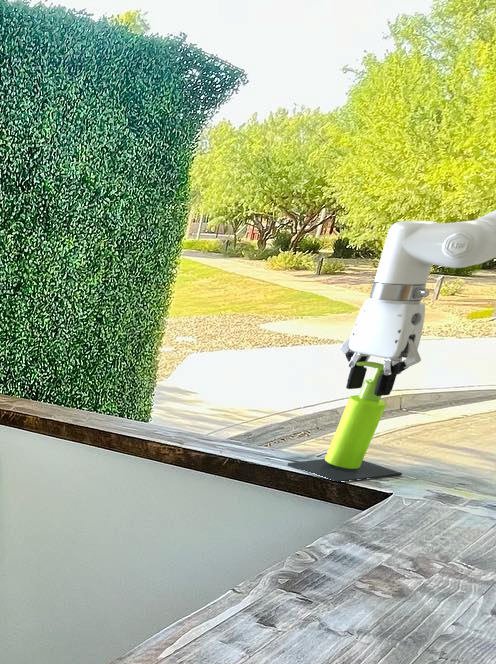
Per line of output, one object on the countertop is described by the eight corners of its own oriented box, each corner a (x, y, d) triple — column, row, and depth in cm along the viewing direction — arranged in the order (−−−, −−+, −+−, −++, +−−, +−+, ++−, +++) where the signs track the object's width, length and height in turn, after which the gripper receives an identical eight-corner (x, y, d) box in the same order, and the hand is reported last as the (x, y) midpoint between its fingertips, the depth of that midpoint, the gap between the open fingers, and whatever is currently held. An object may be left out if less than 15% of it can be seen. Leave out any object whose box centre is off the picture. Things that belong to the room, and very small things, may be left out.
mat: (348, 458, 159) (349, 455, 158) (401, 475, 149) (402, 473, 149) (287, 465, 155) (288, 462, 155) (337, 483, 145) (338, 480, 145)
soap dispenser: (324, 453, 156) (363, 357, 147) (363, 464, 151) (406, 366, 142) (314, 459, 153) (353, 362, 144) (354, 471, 148) (396, 371, 139)
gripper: (461, 298, 132) (427, 401, 139) (367, 287, 147) (341, 380, 154) (429, 299, 130) (396, 404, 137) (337, 289, 145) (312, 383, 152)
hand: (367, 390), depth 146 cm, fingers closed on soap dispenser, 4 cm apart
